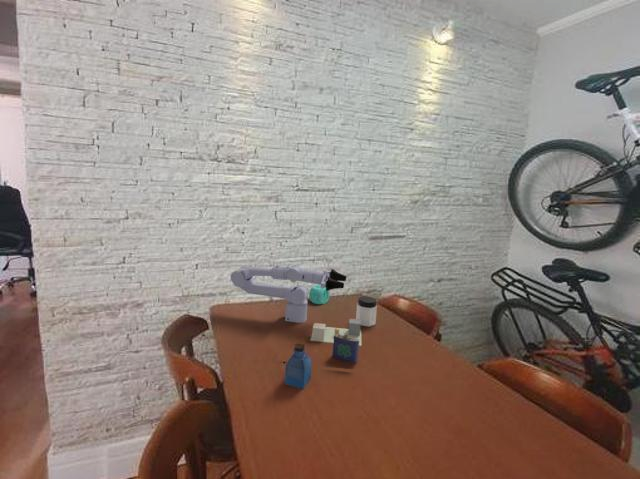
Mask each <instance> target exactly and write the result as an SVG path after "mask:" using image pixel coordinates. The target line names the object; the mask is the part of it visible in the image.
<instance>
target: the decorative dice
mask: <svg viewBox="0 0 640 479" xmlns="http://www.w3.org/2000/svg"><path fill="white" fill-rule="evenodd" d="M330 294H331V293H330V290H328V291H326V287H325V288H321V285H319V284H314V285H313V286H312V287H311V288H310V289H309V294H308V298H309V300H310V301H311V302H312V304H315V305H325V304H327V303H328V301H329V299H330Z"/></svg>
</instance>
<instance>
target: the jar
mask: <svg viewBox="0 0 640 479" xmlns="http://www.w3.org/2000/svg"><path fill="white" fill-rule="evenodd" d="M357 301H358V302H357V303H356V310H355V311H356V314H355V315H356V316H355V319H358V320H360V322H361V325H360V326H363V327H368V328H369V327H373V326H375V325H376V322H377V312H378V310H377V309H378V306H377V299H376V298H375V297H373V296H367V295H366V296H365V295H364V296H359V297H358V299H357Z"/></svg>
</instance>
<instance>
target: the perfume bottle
mask: <svg viewBox="0 0 640 479" xmlns="http://www.w3.org/2000/svg"><path fill="white" fill-rule="evenodd" d="M305 346H306V345H305V344H304V343H301V342H297V343H295V344H294V348H293V353H292V355H291V356H290V358H289V359H288V361H287V362H286V364H285V369H284V370H285V371H284V372H285V373H284V375H285V376H284V385H287V384H288V385H287V386H290V385H291V387H294V386H295V388H298V387H299V389H303V390H304V389H305V388H306V386H307V384H308V383H309V381H310V380H311V378H312V376H311V375H312V359H311V357H310V355H309V354H308V353H305V352H306V347H305Z"/></svg>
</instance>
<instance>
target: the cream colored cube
mask: <svg viewBox="0 0 640 479" xmlns="http://www.w3.org/2000/svg"><path fill="white" fill-rule="evenodd" d="M325 327H327V325H326V323H318V322H313V326H312V333H311V336H312V340H319V341H324V338H325ZM319 341H318V342H319Z"/></svg>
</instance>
